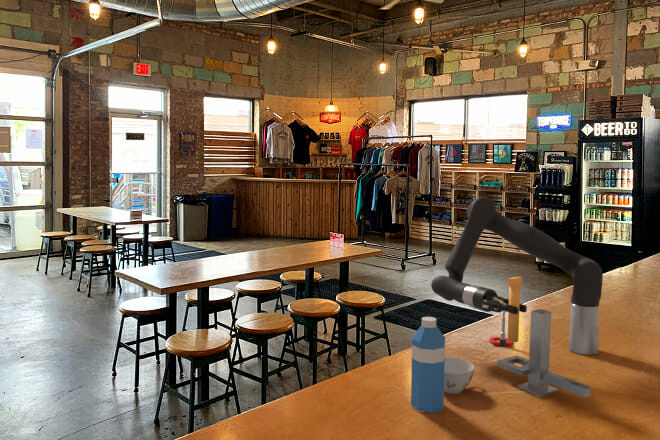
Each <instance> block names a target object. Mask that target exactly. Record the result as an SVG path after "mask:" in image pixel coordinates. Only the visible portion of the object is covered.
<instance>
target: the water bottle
mask: <svg viewBox="0 0 660 440" xmlns="http://www.w3.org/2000/svg"><path fill="white" fill-rule="evenodd" d="M445 357H446V337H445V336H444V334H443V333H442V332H441V330H440V329H439V327H438V325H437V318H436V317H434V316H423V317H421V326H419V328H418V329H417V330H416V331H415V333H414V334H413V336H412V338H411V379H410V380H411V383H410V385H411V387H410V389H411V390H410V395H411V396H410V406H411V405H412V406H413V407H415V408H416V409H417V410H419V411H424V412H423V413H426V412H430V413H429V414H434V412H435V413H438V412H442V411H443V409H444V405H445V403H444V402H445V401H444V400H445V398H444V397H445V391H444V368H445ZM413 407H412V408H413ZM416 409H415V410H416ZM417 410H416V411H417ZM419 411H418V412H419Z"/></svg>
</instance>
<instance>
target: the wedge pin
mask: <svg viewBox="0 0 660 440" xmlns="http://www.w3.org/2000/svg"><path fill="white" fill-rule="evenodd" d="M507 286H508V288H509V290H508V298H509V305H512V306H516V307H518V314H513V313H509V312H507V313H508V315H507V316H508V317H507V338H508V341H509V342H513V343H518V342H519V332H520V331H519V329H520V311H519V308H520V304H521V300H520V298H521V286H523V277H522V276H513V277H508V278H507Z"/></svg>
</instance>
